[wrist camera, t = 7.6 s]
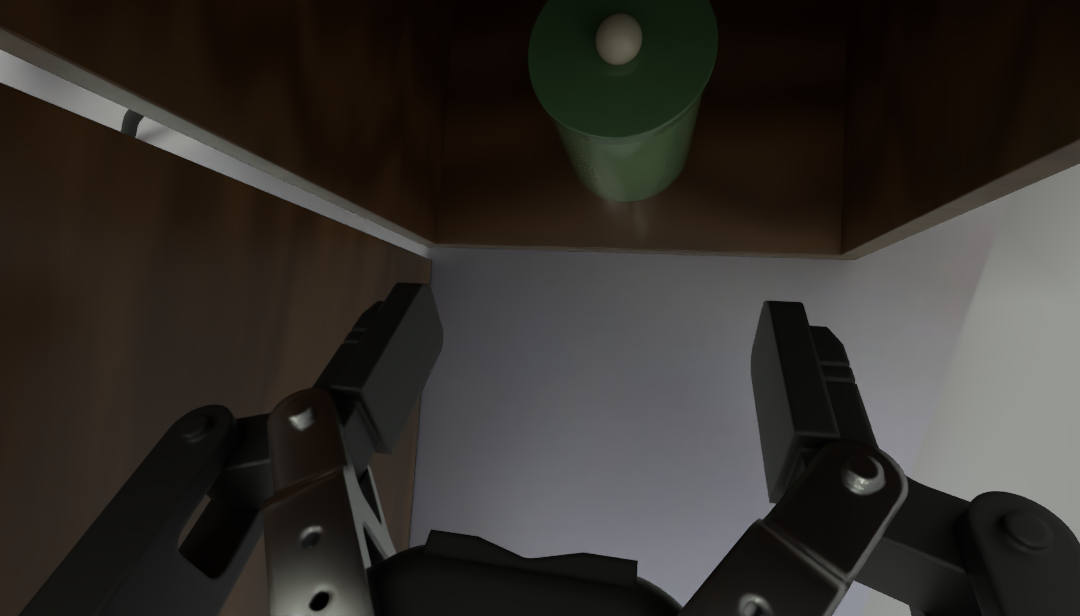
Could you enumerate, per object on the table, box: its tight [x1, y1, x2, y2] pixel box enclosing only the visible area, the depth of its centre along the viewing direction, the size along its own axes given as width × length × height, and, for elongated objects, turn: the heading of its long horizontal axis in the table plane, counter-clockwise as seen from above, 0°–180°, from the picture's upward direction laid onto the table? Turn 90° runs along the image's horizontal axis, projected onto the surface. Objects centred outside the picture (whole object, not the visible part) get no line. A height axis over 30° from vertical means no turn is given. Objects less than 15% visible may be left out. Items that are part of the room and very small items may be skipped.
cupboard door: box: [0, 83, 432, 616], centre depth 16 cm, size 6×22×26 cm, turn 177°
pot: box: [527, 0, 719, 202], centre depth 22 cm, size 7×7×10 cm
